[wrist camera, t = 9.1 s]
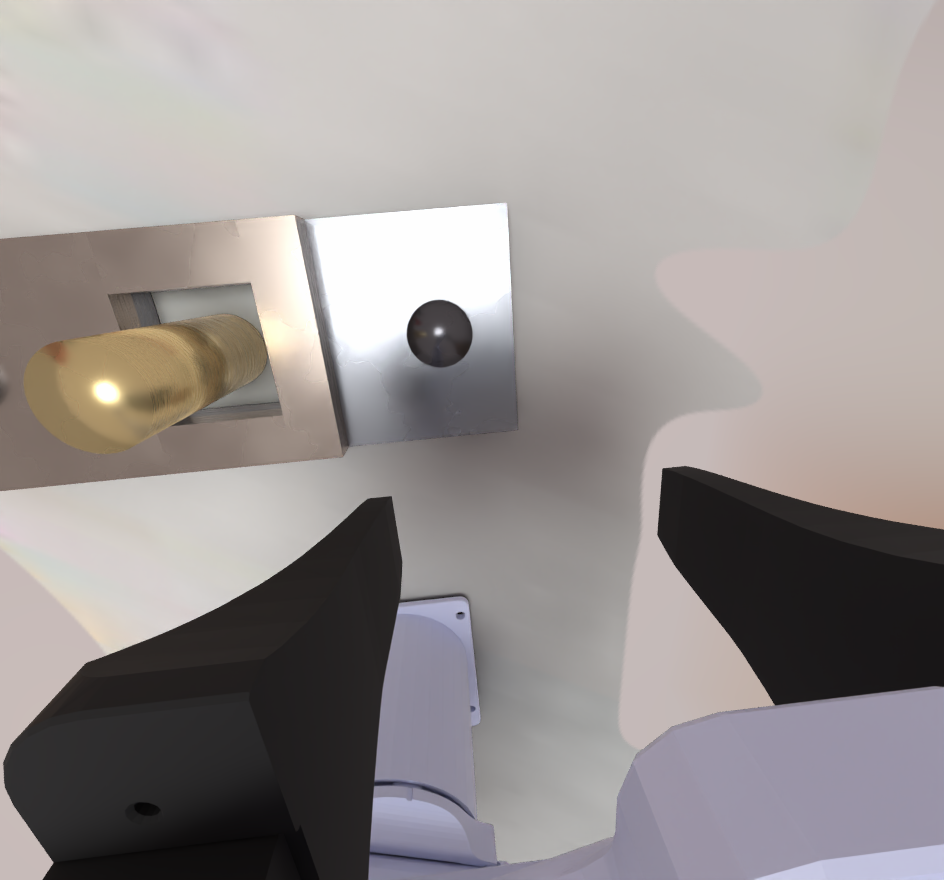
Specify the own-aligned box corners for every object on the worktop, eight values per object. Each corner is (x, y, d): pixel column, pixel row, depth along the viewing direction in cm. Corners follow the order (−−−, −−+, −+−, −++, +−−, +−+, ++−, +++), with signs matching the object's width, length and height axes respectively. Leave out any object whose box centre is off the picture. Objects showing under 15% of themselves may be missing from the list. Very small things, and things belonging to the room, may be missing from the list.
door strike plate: (503, 207, 17) (514, 193, 15) (513, 421, 21) (525, 444, 18) (-121, 259, 17) (-235, 255, 14) (-11, 473, 20) (-86, 505, 17)
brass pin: (272, 384, 19) (165, 452, 12) (202, 385, 19) (47, 455, 12) (260, 313, 18) (134, 339, 11) (185, 314, 18) (4, 341, 11)
